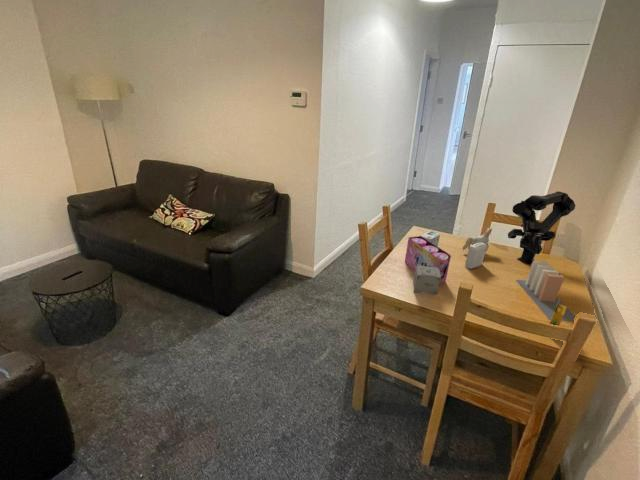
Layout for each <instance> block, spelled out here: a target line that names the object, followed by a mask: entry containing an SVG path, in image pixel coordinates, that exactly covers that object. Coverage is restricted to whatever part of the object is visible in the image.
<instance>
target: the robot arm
mask: <svg viewBox="0 0 640 480" xmlns="http://www.w3.org/2000/svg"><path fill="white" fill-rule="evenodd" d="M575 203H576V202H575V201H574V199H572V198H571V197H570V196H569V194H567V193H566V192H562V191H555V192H553V193H549V194H545V195H530V196H529V197H527V198H526V199H525V200H521V201H520V202H518V203H516V204H514V205H513V207H512V213H513V214H515V215H516V216H517V217H519V218H521V222H522V223H521V224H520V226H521V228H522V229H520V228H512V229H511V230H510V231H509V232H508V233H507V238H508V239H516V238H517V237H521V238H520V241H519V248H520V249H523V250H522V252H521V256H520V257H518V258H517V260H518V261H520V262H522V263H526V265H532V262H533V261H536V260H535V256H536V255H540V253H542V251H543V247H542V244H543V242H544V241H545V242H548V241H551V240H552V239H555V237H556V233H555V232H554V231H552V230H551V229H552V228H553V226H555V225H556V224H557V222H558V221H559V220H560V219H561V218H562V217H566V216H569V215H570V214H571V213H572V212H573V211H574V210H575V209H576V204H575ZM552 204H553V205H552ZM549 205H552V211H551V212H550V213H549V214H548V215H547V216H546V217H545V219H543V220H542V221H541V222H540V221H539V220H537V216H536V211H543V210H545V209H546V208H547V206H549Z"/></svg>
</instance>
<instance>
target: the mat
mask: <svg viewBox="0 0 640 480" xmlns="http://www.w3.org/2000/svg"><path fill="white" fill-rule="evenodd" d="M526 280H527V279H515V281H516V282H517V284H519V286H520V287H521V288H522V289H523V291H524V292H525V293H526V294H527V295H528V296H529V298H530V299H531V300H532V302H534V304H535V305H536V306H537V307H538V308H539V310H540V311H541V312H542V313H543V314H544V315H545V316H546V318H547V320H549V321H551V318H552V316H553V313H554V311H555V309H556V307H557V304H560V305H563V306H566V305H565V303H563V301H561V300H560V299H559V297H557V298H556V300H555V302H549V301H540V300H539V299H538V298H539V296H536V295H535V294H534V291H532V290H530V289H529V288H530V286H527V285H526V284H525V283H526ZM559 300H560V301H559ZM558 302H559V303H558ZM575 316H576V315H575V314H574V313H573V312H572V310H570V309H569V308H568V307H567V308H566V311H565V313H564V316H563V318H562V320H561V322H571V323H575V322H574V318H575Z"/></svg>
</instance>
